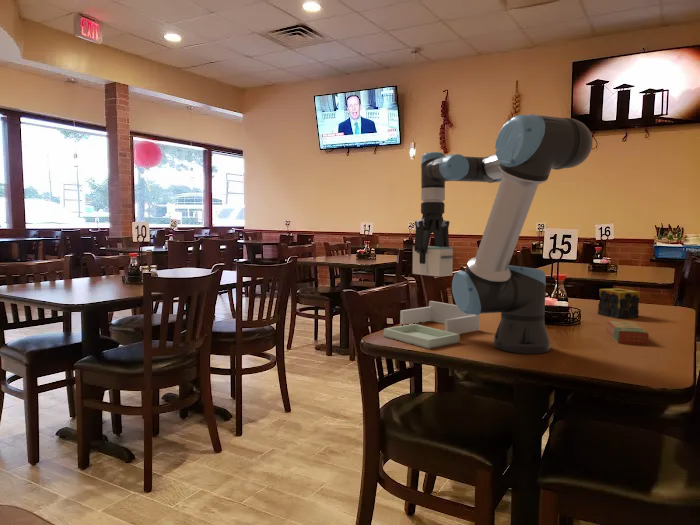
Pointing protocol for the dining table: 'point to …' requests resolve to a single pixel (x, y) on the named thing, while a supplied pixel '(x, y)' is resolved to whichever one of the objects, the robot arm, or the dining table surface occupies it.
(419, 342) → the tray
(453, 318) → the bay
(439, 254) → the mint-topped white block
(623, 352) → the dining table surface
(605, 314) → the yellow and blue cube
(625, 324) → the carton
